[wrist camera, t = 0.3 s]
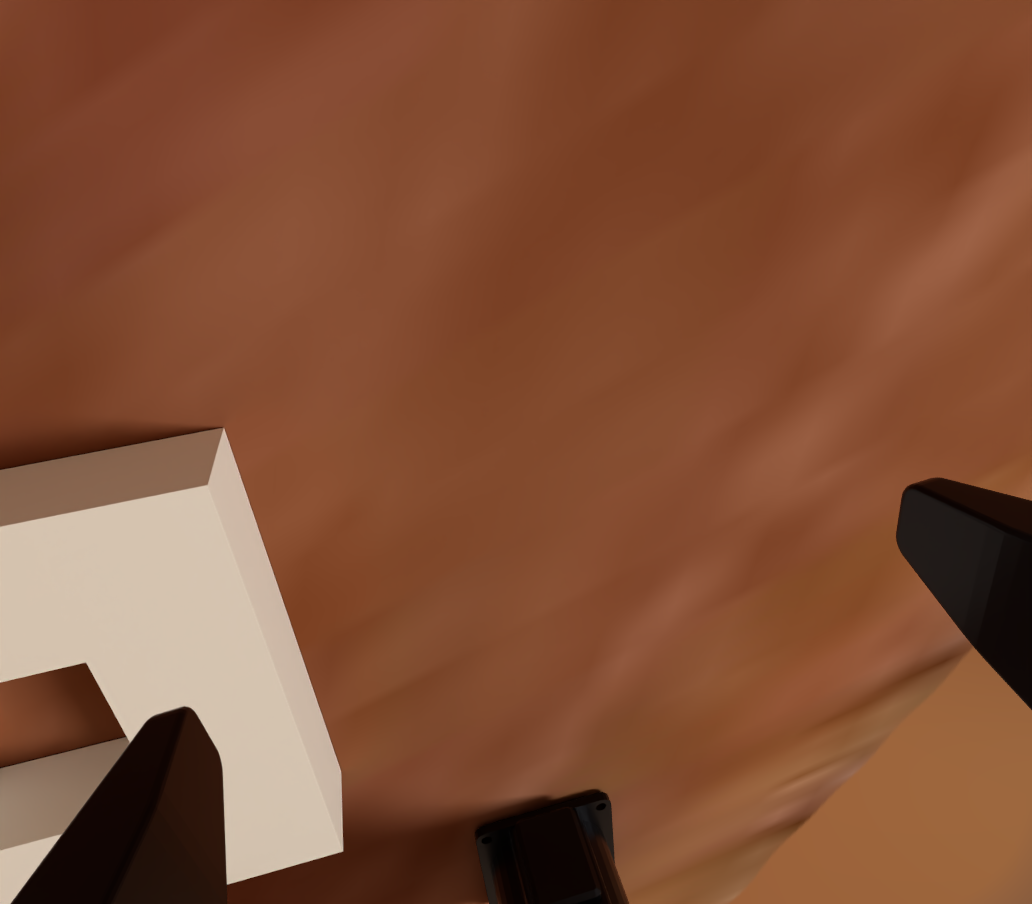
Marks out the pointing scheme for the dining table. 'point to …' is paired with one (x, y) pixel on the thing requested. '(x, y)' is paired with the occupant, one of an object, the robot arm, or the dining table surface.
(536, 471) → the dining table surface
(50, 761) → the socket block
